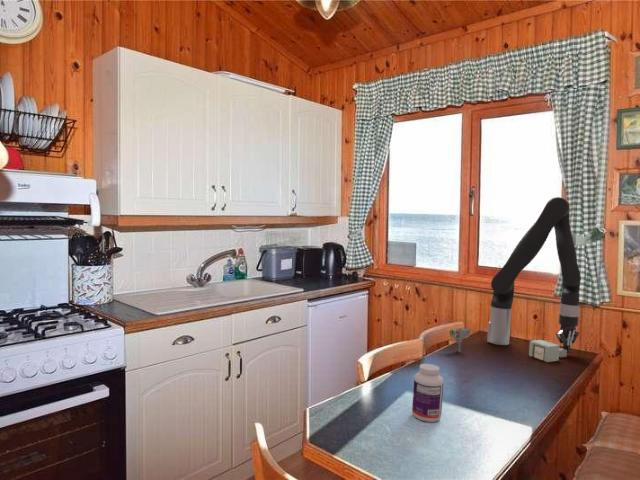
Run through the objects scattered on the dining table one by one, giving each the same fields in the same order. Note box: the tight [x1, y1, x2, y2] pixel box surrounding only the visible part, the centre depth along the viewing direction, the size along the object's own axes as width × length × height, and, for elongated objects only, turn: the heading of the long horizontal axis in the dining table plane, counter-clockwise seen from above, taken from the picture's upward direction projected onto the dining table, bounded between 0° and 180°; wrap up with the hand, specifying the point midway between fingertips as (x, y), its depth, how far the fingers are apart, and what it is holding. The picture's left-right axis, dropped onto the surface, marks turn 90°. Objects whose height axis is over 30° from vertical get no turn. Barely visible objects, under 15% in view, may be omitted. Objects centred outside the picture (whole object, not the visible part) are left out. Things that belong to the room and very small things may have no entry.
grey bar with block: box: [533, 346, 568, 361], centre depth 191 cm, size 17×4×5 cm, turn 115°
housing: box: [528, 339, 561, 363], centre depth 189 cm, size 7×9×6 cm
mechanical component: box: [449, 327, 471, 353], centre depth 192 cm, size 3×10×10 cm, turn 115°
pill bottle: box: [411, 363, 444, 423], centre depth 124 cm, size 8×8×14 cm
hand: (566, 353), depth 196 cm, fingers closed
